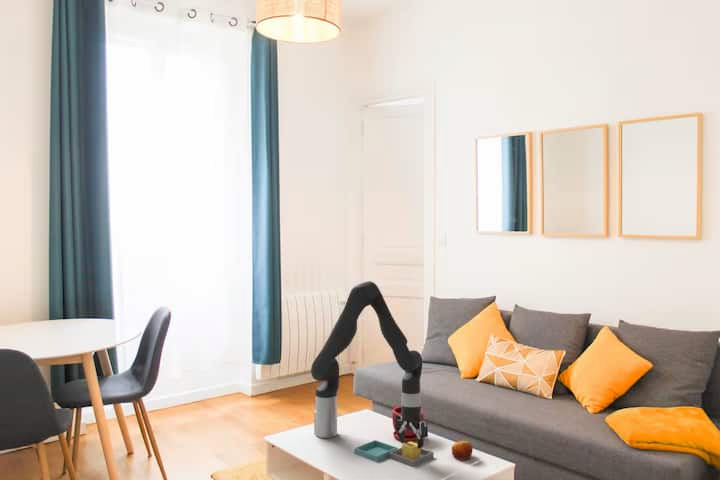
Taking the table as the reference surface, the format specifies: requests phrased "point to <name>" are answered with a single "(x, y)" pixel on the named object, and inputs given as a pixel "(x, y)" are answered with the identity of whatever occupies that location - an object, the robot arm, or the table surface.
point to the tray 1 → (374, 450)
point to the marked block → (410, 450)
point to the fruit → (462, 450)
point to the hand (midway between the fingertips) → (411, 445)
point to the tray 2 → (397, 456)
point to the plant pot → (409, 434)
